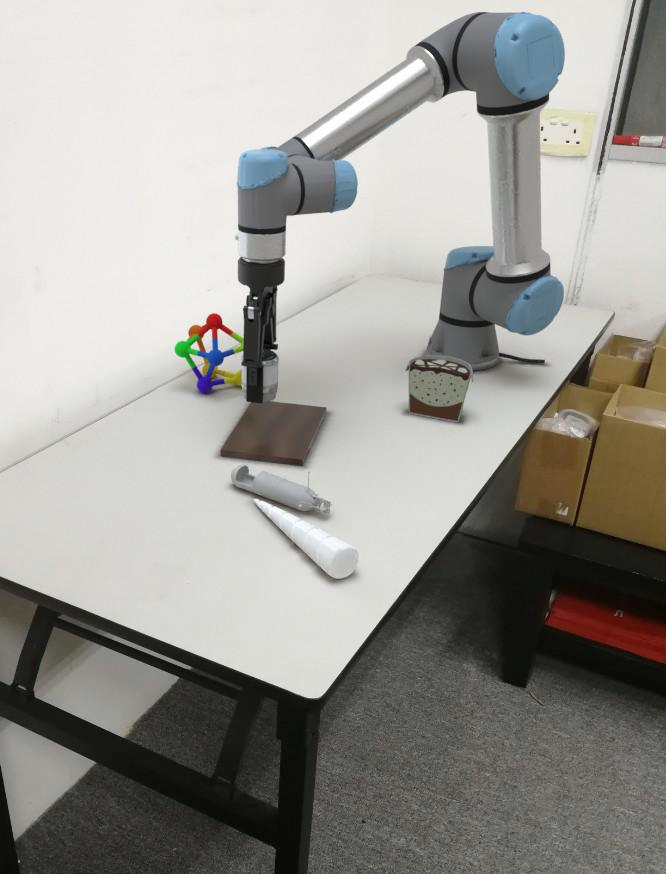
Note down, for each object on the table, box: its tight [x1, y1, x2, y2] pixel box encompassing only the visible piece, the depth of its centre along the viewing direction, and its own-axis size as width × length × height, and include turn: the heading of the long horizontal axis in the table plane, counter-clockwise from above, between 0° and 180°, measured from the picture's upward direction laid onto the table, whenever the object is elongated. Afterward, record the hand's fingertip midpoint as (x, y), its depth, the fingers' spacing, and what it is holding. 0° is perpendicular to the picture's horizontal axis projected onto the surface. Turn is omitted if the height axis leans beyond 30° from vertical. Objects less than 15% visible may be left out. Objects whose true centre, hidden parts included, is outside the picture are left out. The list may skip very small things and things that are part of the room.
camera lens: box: [241, 349, 280, 402], centre depth 146 cm, size 6×6×8 cm
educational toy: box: [174, 312, 244, 394], centre depth 164 cm, size 16×13×15 cm
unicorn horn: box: [253, 498, 359, 580], centre depth 121 cm, size 5×24×5 cm, turn 27°
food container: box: [405, 354, 474, 423], centre depth 157 cm, size 12×6×10 cm, turn 65°
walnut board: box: [220, 400, 327, 467], centre depth 151 cm, size 14×22×1 cm, turn 166°
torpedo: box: [230, 464, 333, 516], centre depth 129 cm, size 18×5×6 cm, turn 54°
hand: (259, 393), depth 148 cm, fingers closed on camera lens, 6 cm apart
